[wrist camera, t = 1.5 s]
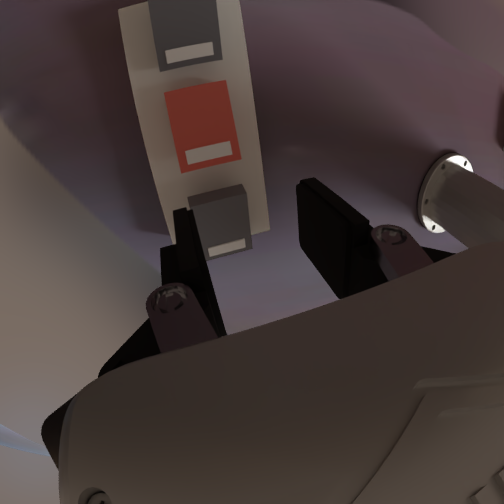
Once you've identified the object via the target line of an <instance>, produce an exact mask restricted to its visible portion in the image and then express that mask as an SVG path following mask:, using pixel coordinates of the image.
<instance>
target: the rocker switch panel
mask: <svg viewBox="0 0 504 504" xmlns="http://www.w3.org/2000/svg"><path fill="white" fill-rule="evenodd" d="M216 3H217V12H218V21H219V30H220V39H221V48H222V57H223V60H218V61H212V62H206V63H200V64H195V65H190V66H185V67H180V68H176V69H171V70H167V71H163V72H160V70H159V65H158V60H157V54H156V48H155V43H154V37H153V31H152V25H151V19H150V13H149V6H148V1H147V2H143V3H139V4H135V5H132V6H128V7H124V8H121V9H118V14H119V21H120V27H121V33H122V39H123V45H124V51H125V56H126V62H127V67H128V72H129V77H130V82H131V87H132V92H133V96H134V101H135V106H136V110H137V114H138V119H139V123H140V127H141V131H142V136H143V140H144V144H145V148H146V152H147V156H148V159H149V163H150V167H151V171H152V174H153V178H154V182H155V185H156V189H157V193H158V196H159V200H160V203H161V206H162V210H163V213H164V217H165V220H166V223H167V226H168V230H169V233H170V236H171V239H172V243H173V244H176V238H175V229H174V220H173V210H177V209H180V208H184V207H187V210H190V207H189V203H188V199H187V197H189V196H193V195H197V194H201V193H205V192H209V191H213V190H217V189H221V188H225V187H230V186H234V185H238V184H242V185H243V187H244V189H245V191H246V192H247V199H248V209H249V220H250V230H251V235H253V234H257V233H261V232H265V231H269V230H270V224H269V216H268V207H267V199H266V190H265V182H264V174H263V166H262V158H261V150H260V142H259V134H258V127H257V119H256V112H255V104H254V97H253V90H252V83H251V76H250V69H249V62H248V55H247V48H246V41H245V34H244V28H243V21H242V15H241V8H240V2H239V0H216ZM222 80H226V83H227V88H228V93H229V98H230V103H231V108H232V113H233V118H234V123H235V128H236V133H237V138H238V143H239V148H240V153H241V158H242V159H241V160H236V161H232V162H227V163H223V164H219V165H214V166H210V167H206V168H202V169H197V170H193V171H189V172H186V173H182V174H181V170H180V166H179V162H178V157H177V153H176V148H175V144H174V139H173V135H172V130H171V125H170V121H169V116H168V111H167V106H166V101H165V96H164V92H168V91H173V90H177V89H181V88H186V87H190V86H195V85H200V84H205V83H211V82H216V81H222Z"/></svg>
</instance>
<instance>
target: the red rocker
mask: <svg viewBox="0 0 504 504" xmlns="http://www.w3.org/2000/svg"><path fill="white" fill-rule="evenodd" d="M164 96H165V101H166V106H167V111H168V116H169V121H170V125H171V130H172V135H173V139H174V144H175V148H176V153H177V157H178V162H179V166H180V170H181V174H182V173H186V172H189V171H193V170H197V169H202V168H206V167H210V166H214V165H219V164H223V163H227V162H232V161H236V160H241V159H242V158H241V153H240V148H239V143H238V138H237V133H236V128H235V123H234V118H233V113H232V108H231V103H230V98H229V93H228V88H227V83H226V80H222V81H216V82H211V83H205V84H200V85H195V86H190V87H186V88H181V89H177V90H173V91H168V92H164Z"/></svg>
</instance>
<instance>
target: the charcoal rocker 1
mask: <svg viewBox="0 0 504 504" xmlns="http://www.w3.org/2000/svg"><path fill="white" fill-rule="evenodd" d="M148 6H149V13H150V19H151V25H152V31H153V37H154V43H155V48H156V54H157V60H158V65H159V70H160V72H163V71H167V70H171V69H176V68H180V67H185V66H190V65H195V64H200V63H206V62H212V61H218V60H223V57H222V48H221V39H220V30H219V21H218V12H217V3H216V0H148Z"/></svg>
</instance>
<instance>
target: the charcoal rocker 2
mask: <svg viewBox="0 0 504 504" xmlns="http://www.w3.org/2000/svg"><path fill="white" fill-rule="evenodd" d="M187 199H188V203H189V207H190V210H191V209H193V212H194V216H195V220H196V224H197V228H198V232H199V236H200V240H201V244H202V248H203V251H204V255H205V259H206V261H208V260H212V259H215V258H219V257H223V256H227V255H230V254H234V253H238V252H241V251H245V250H249V249H252V240H251V230H250V220H249V209H248V199H247V192H246V191H245V189H244V187H243V185H242V184H238V185H234V186H230V187H225V188H221V189H217V190H213V191H209V192H205V193H201V194H197V195H193V196H189V197H187Z"/></svg>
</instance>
